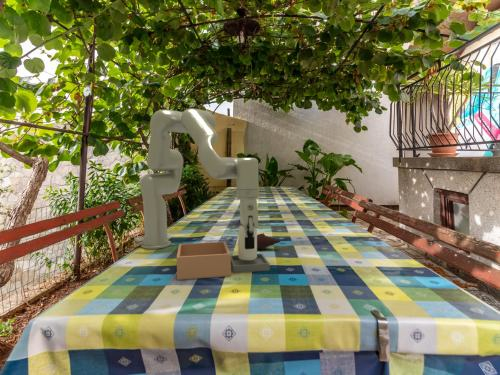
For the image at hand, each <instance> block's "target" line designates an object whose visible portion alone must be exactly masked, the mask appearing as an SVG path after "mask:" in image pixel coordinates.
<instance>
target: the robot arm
mask: <svg viewBox="0 0 500 375" xmlns="http://www.w3.org/2000/svg"><path fill="white" fill-rule="evenodd" d="M216 122H217V121H216V118H215V116H214V115H213V114H212V112H210V111H208V110H204V109H199V108H198V109H197V108H187V109H185V110H184V111H177V110H173V109H160V110H157V111H155V112H154V113H153V114H152V116H151V118H150V122H149V131H150V132H149V133H150V139H149V145H148V152H147V159H146V162H147V163H146V165H147V167H148V169H149V170H151V171H153V173H148V174H145V175H143V176H142V178H141V179H140V181H139V187H140V192H141V196H142V203H143V221H144V222H143V226H144V229H143V230H144V235H143V236H142V237H139V236H137V237H134V239H133V240H134V241H133V242H134V243H140V246H141V248H143V249H147V250H157V249H163V248H167V247H170V246H171V245H172V241H171V240H168V223H167V222H168V218H167V216H168V212H167V203H166V200H165V198H163V196H164V195H171V194H175V193H176V192H177V191H178V190H179V188H180V185H181V179H182V174H183V168H184V167H183V166H184V158H183V156H182V153H181V152H180V151H179V150H177V149H171V145H172V138H171V135H170V133H171V132H172V133H179V134H180V133H181V134H189V136H190V137H191V138H192V140H193V141H194V142H195V144H196V145H197V146H198V149H197V154H198V160H199V162H200V164H201V166H202V168H204V170H205V171H206V172H207V174H209V176H210V177H212V178H213V179H215V180H231V179H236V180H235V181H236V199H237V200H239V218H240V219H239V220H240V224H241V225H242V226H243V227H244V228H245V235H246V237H245V249H254V226H255V228H257V229H258V228H259V212H258V201H257V199H259V198H260V196H259V193H260V192H259V191H260V190H259V189H260V188H259V186H260V185H259V160H258V159H257V158H256V157H229V156H228V157H226V156H224V157H223V156H221V157H220V155H219V154H218V153H217V151H215V149H214V148H213V147H214V146H215V145H216V144H217V142H218V140H219V134H218V132H217V131H216V129H215V128H216V125H217V124H216ZM169 132H170V133H169ZM155 172H157V173H155ZM160 172H161V173H160ZM162 172H163V173H162ZM247 226H249V228H247ZM247 230H248V231H247Z"/></svg>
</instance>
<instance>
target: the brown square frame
mask: <svg viewBox="0 0 500 375" xmlns="http://www.w3.org/2000/svg"><path fill="white" fill-rule="evenodd" d="M231 256H232V255H231V252H230V250H229V247H228V245H227V242H226V241H213V242H211V241H210V242H195V243H193V242H192V243H179V244H178V248H177V254H176V280H178V281H179V280H191V279H192V280H193V279H205V278H219V277H220V278H221V277H231V276H232V267H231Z"/></svg>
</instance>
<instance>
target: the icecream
mask: <svg viewBox="0 0 500 375" xmlns="http://www.w3.org/2000/svg"><path fill="white" fill-rule="evenodd" d="M279 243H281V240H280V239H277V238H273V237H271V236H267V235H266V234H265V233H264V232H263V233H257V250H263V251H265V249H266V248H268V247H271V246H273V245H275V244H279Z"/></svg>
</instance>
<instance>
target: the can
mask: <svg viewBox="0 0 500 375" xmlns="http://www.w3.org/2000/svg"><path fill="white" fill-rule="evenodd" d="M247 228H249V226H247ZM247 231H248V230H247ZM257 235H258V228H255V226H254V249H245V237H246V235H245V228H244V227H243V226H242V225H241V223H240V224H239V227H238V238H237V239H238V240H237V241H238V242H237V243H238V245H237V246H238V247H237V248H238V249H237V251H238V252H237V253H238V254H237V255H238V258H239V259H240V260H242V261H253V260H256V258H257V254H258V249H257Z"/></svg>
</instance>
